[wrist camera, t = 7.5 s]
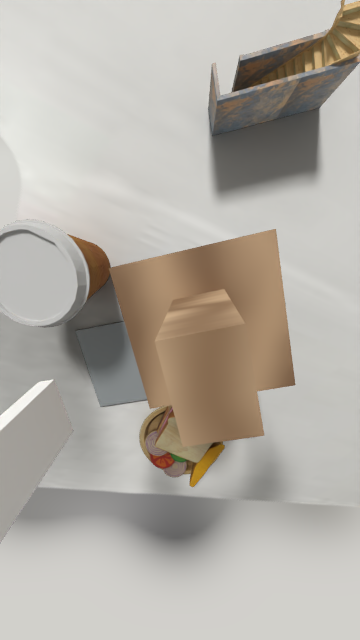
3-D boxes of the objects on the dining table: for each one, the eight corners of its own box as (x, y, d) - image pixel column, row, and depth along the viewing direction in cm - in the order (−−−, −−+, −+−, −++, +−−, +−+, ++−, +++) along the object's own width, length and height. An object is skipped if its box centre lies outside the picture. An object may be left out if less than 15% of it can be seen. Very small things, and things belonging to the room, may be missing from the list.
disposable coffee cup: (137, 276, 33) (106, 292, 22) (82, 316, 35) (26, 350, 24) (90, 211, 32) (29, 191, 20) (35, 257, 34) (-50, 263, 22)
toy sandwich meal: (126, 443, 41) (117, 467, 37) (171, 379, 38) (167, 398, 33) (193, 480, 42) (192, 508, 38) (242, 422, 39) (248, 445, 34)
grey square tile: (101, 404, 39) (100, 406, 39) (76, 330, 36) (75, 331, 36) (179, 392, 38) (179, 394, 37) (160, 314, 35) (160, 314, 34)
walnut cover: (152, 399, 21) (120, 508, 13) (114, 266, 19) (38, 286, 10) (289, 377, 20) (362, 480, 11) (270, 230, 17) (347, 213, 8)
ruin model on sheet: (315, 75, 27) (378, -14, 18) (317, 109, 28) (378, 41, 18) (207, 105, 28) (212, 37, 19) (212, 137, 29) (219, 86, 20)
